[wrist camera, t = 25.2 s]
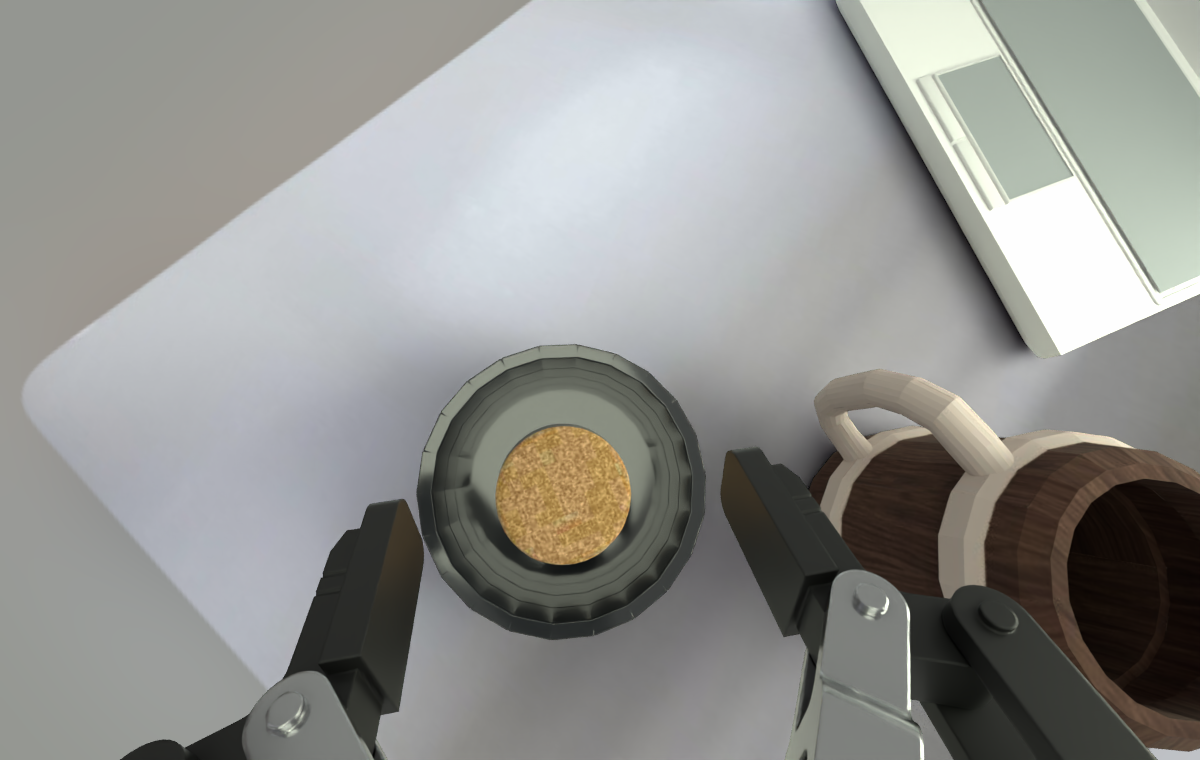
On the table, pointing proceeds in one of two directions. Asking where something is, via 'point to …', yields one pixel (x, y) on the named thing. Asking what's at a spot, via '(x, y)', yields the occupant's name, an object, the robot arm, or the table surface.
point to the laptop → (1055, 147)
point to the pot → (471, 469)
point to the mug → (1031, 536)
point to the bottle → (563, 494)
